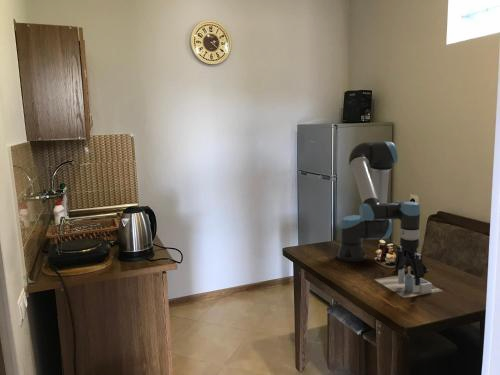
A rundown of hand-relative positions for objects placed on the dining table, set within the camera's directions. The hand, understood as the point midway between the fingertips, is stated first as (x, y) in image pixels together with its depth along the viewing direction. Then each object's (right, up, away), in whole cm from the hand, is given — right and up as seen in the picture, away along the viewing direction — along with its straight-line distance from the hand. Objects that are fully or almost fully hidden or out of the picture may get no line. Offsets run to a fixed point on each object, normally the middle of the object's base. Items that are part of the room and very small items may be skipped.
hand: (408, 287), depth 178 cm
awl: (0, -2, 0) cm, 2 cm away
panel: (+2, -1, +7) cm, 8 cm away
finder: (+6, -1, +2) cm, 6 cm away
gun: (+11, +1, +24) cm, 26 cm away
